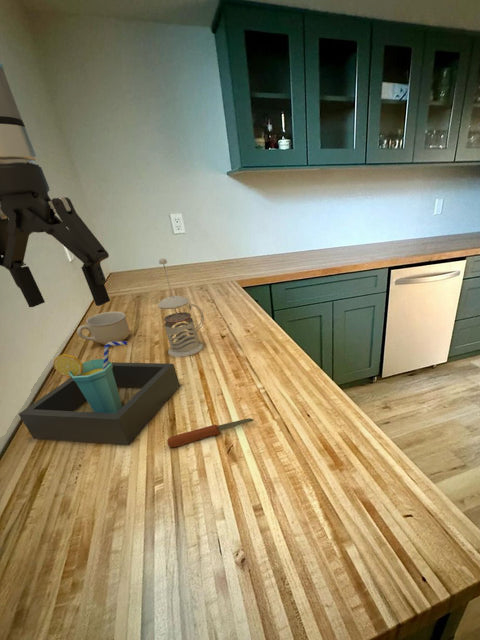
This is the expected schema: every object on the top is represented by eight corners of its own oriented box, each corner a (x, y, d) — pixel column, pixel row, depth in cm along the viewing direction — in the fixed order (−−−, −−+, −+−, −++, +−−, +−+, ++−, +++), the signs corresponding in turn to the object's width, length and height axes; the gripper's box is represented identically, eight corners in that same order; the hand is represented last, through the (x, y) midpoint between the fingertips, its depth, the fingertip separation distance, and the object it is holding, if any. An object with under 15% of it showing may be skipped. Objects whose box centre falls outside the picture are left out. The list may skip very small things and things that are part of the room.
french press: (165, 347, 98) (139, 258, 86) (204, 337, 102) (185, 251, 90) (170, 360, 90) (143, 265, 78) (213, 349, 95) (193, 257, 82)
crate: (33, 438, 65) (18, 413, 62) (102, 383, 82) (93, 361, 79) (129, 445, 61) (117, 419, 58) (180, 386, 78) (173, 363, 75)
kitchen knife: (169, 450, 59) (166, 441, 58) (168, 445, 61) (166, 436, 60) (255, 425, 64) (254, 417, 63) (253, 421, 65) (252, 413, 64)
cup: (148, 392, 77) (126, 331, 69) (148, 410, 70) (125, 345, 63) (79, 409, 73) (49, 346, 65) (74, 430, 66) (39, 363, 59)
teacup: (127, 331, 111) (119, 308, 107) (137, 340, 104) (129, 316, 100) (81, 345, 104) (70, 320, 100) (88, 356, 96) (76, 330, 92)
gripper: (101, 157, 50) (144, 295, 61) (-34, 171, 55) (28, 298, 65) (63, 154, 44) (118, 310, 54) (-87, 171, 48) (-8, 312, 59)
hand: (69, 304), depth 60 cm, fingers open, 13 cm apart
